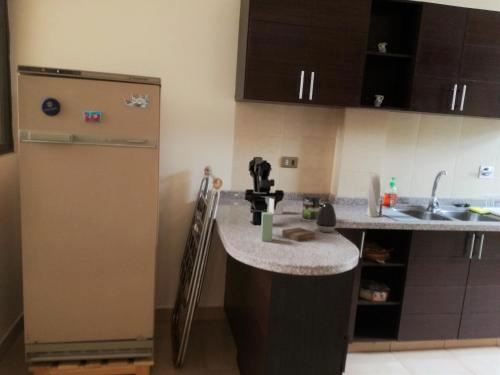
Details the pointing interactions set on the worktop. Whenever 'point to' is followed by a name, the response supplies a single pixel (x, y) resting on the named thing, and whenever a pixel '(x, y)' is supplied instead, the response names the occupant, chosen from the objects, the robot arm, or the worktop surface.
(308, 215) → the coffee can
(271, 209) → the jar
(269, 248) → the worktop surface
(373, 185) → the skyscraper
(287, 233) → the walnut riser
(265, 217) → the green block
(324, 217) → the dark rounded piece
